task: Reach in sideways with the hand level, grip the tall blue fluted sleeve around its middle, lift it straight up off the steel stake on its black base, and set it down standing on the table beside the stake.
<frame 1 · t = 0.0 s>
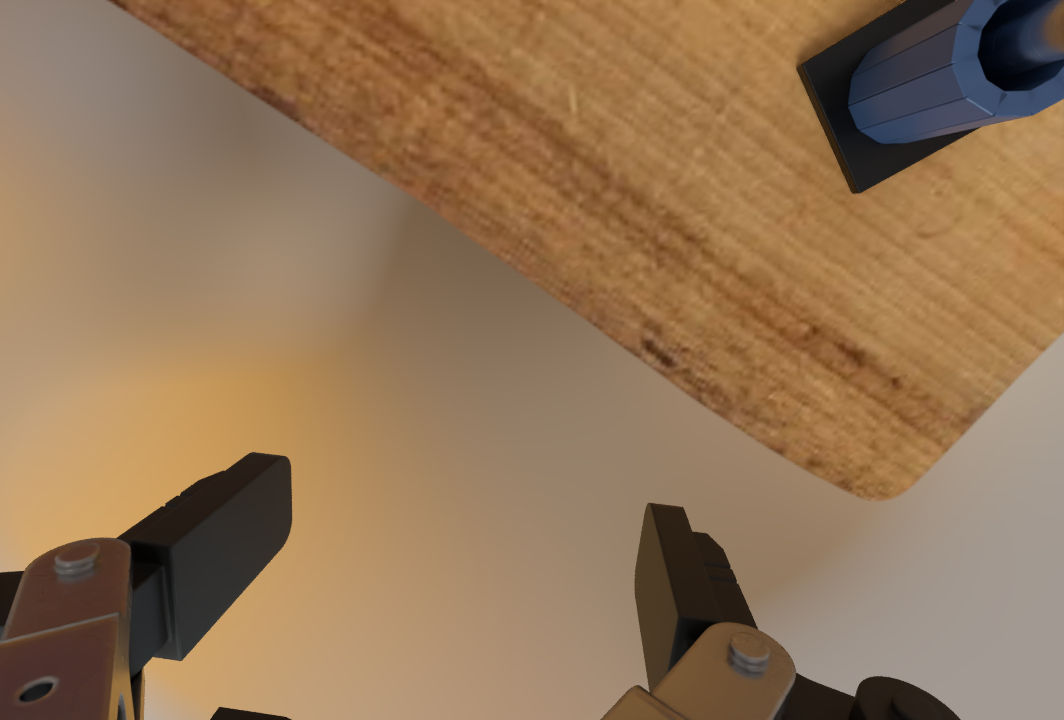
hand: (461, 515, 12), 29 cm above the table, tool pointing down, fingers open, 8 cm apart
blue fluted sleeve: (901, 90, 34), point 1 cm above the table, touching stake
stake: (892, 93, 35), on the table
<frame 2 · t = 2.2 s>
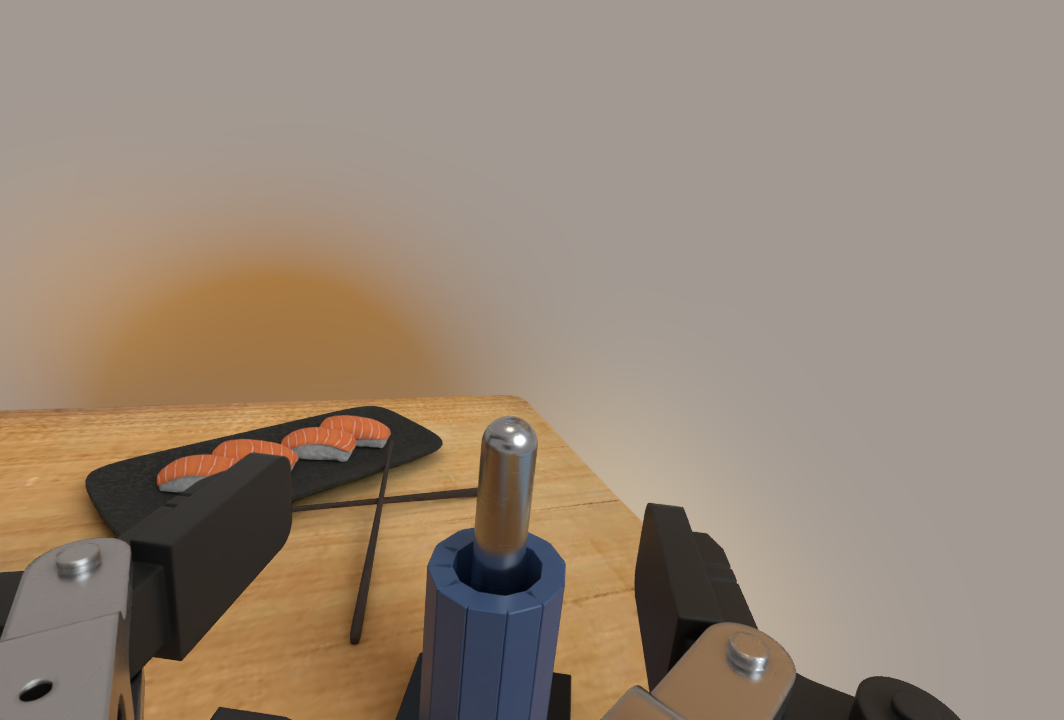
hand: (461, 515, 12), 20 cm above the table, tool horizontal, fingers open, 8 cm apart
sushi plate: (330, 508, 48), on the table
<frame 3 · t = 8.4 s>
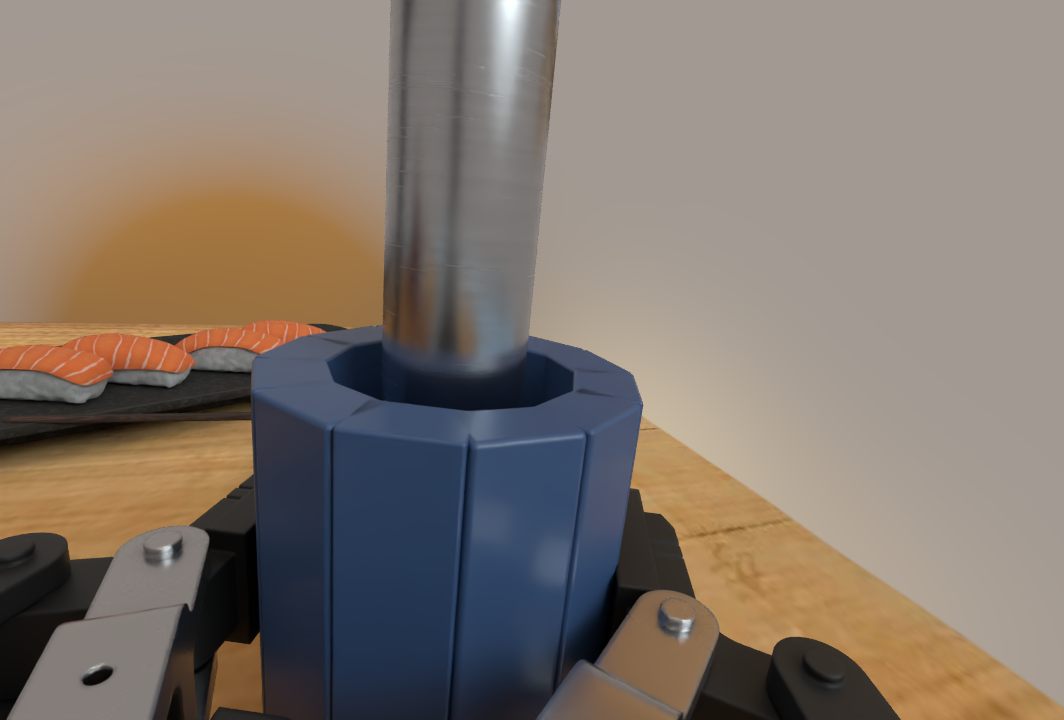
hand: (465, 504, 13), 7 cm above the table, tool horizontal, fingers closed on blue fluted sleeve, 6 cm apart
sushi plate: (232, 428, 32), on the table
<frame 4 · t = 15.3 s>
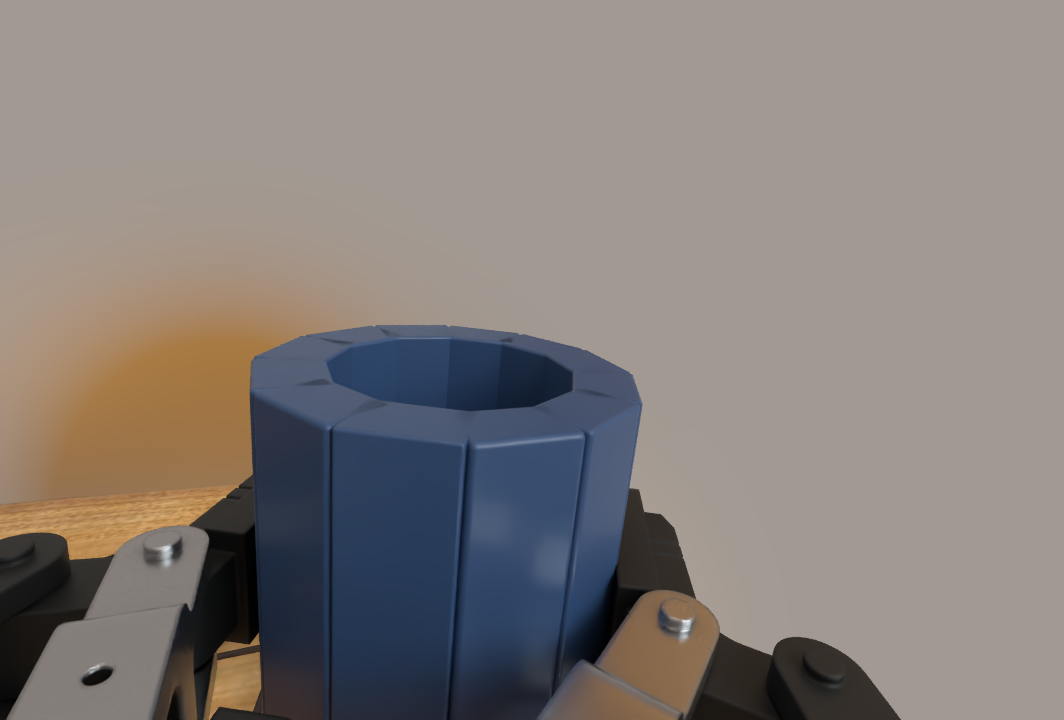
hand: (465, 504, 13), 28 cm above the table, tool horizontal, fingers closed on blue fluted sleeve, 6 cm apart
sushi plate: (224, 651, 42), on the table
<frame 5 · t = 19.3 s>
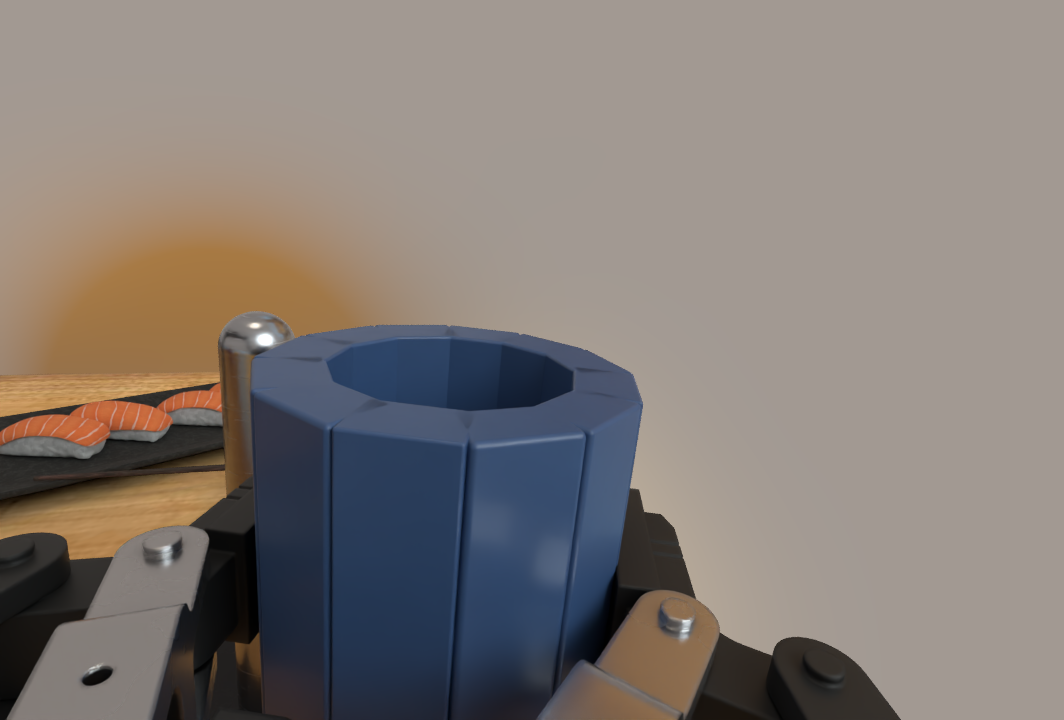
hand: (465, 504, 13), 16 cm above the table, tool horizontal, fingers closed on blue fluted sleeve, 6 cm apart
sushi plate: (199, 475, 43), on the table
when the fingers open (6 cm above the table, at t = 22.5 s): blue fluted sleeve stays where it is, on the table.
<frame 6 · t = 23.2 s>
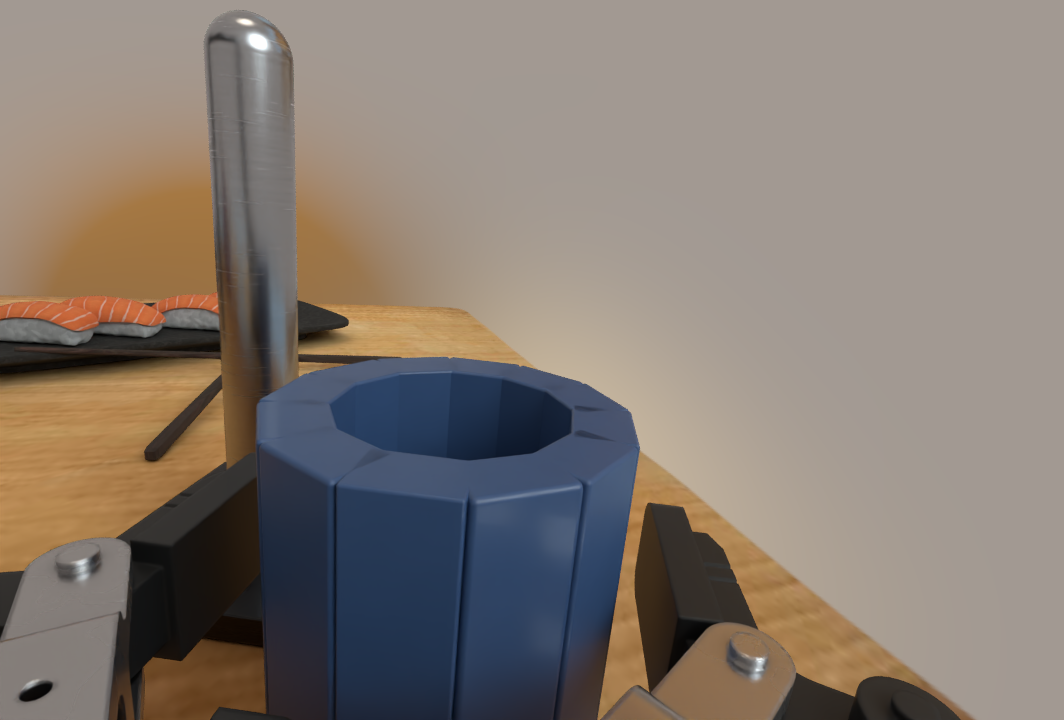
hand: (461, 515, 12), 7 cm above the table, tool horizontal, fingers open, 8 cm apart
sushi plate: (192, 367, 41), on the table
stake: (267, 549, 21), on the table
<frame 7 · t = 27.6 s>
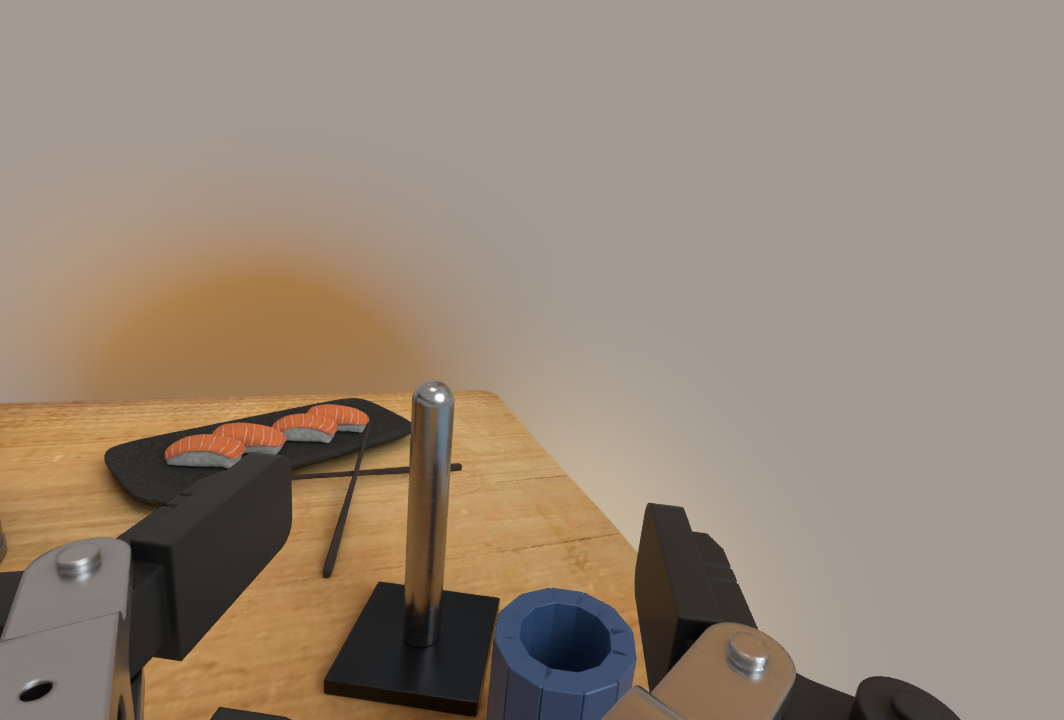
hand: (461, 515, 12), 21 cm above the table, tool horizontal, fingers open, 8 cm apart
sushi plate: (313, 480, 56), on the table
stake: (421, 646, 36), on the table
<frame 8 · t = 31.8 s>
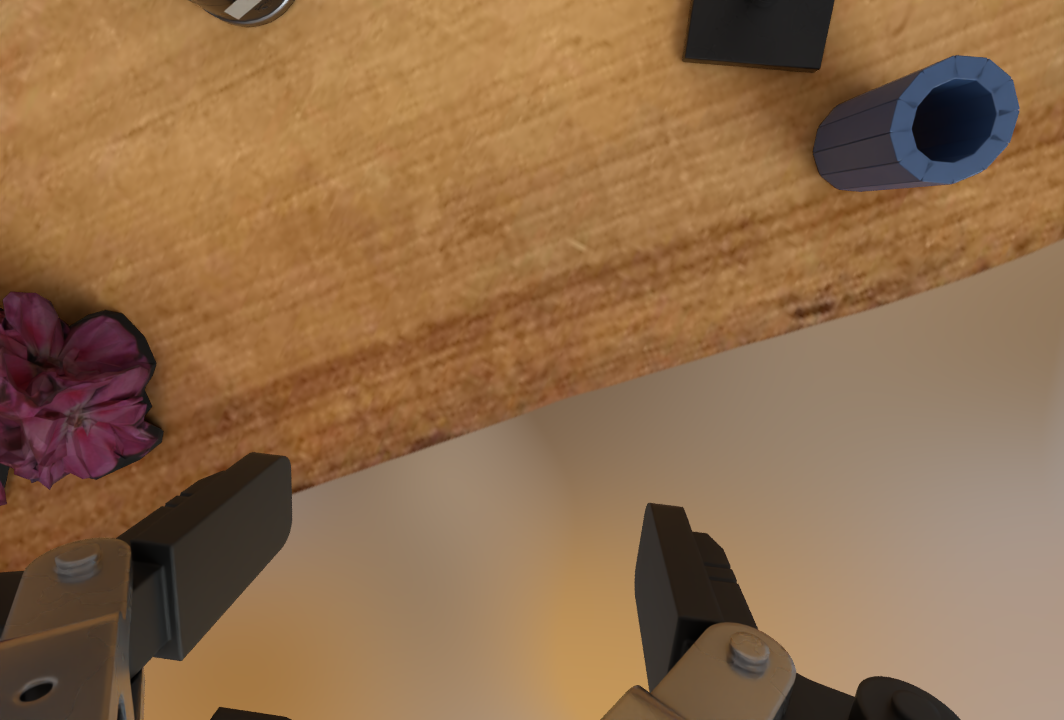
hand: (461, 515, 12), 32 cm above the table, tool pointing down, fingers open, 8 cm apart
blue fluted sleeve: (860, 144, 39), on the table
flower arrangement: (15, 384, 49), on the table
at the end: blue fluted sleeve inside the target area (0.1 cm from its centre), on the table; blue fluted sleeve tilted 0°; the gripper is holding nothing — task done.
